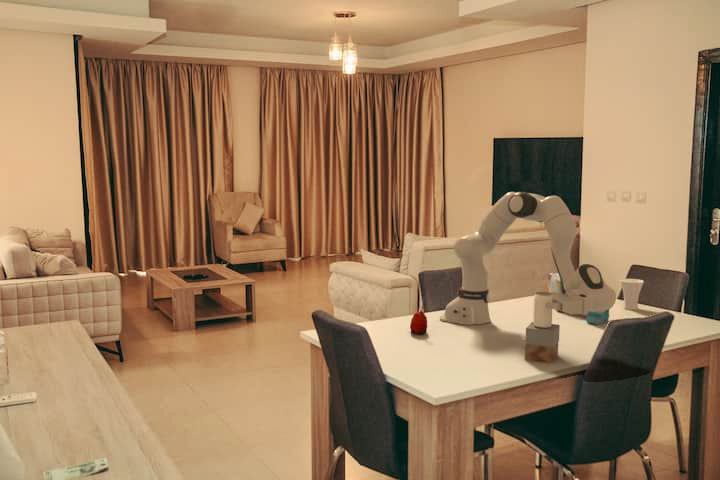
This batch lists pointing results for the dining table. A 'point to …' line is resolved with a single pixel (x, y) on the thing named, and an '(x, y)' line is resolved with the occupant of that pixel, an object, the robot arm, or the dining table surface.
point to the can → (542, 310)
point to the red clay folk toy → (419, 322)
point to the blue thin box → (597, 317)
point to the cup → (631, 292)
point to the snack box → (554, 284)
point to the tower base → (541, 353)
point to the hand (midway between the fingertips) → (540, 303)
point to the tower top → (542, 335)
